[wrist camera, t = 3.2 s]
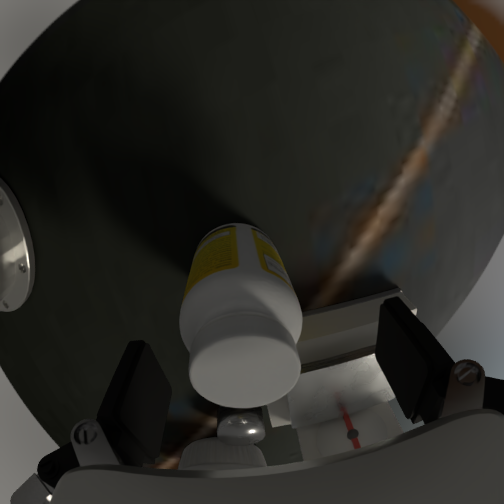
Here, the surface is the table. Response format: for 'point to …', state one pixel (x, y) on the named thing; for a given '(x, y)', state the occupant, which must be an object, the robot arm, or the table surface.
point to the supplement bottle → (240, 319)
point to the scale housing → (332, 344)
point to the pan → (337, 387)
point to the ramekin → (220, 456)
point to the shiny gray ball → (240, 425)
